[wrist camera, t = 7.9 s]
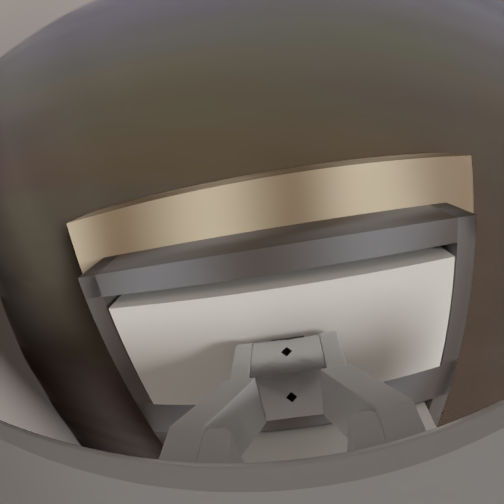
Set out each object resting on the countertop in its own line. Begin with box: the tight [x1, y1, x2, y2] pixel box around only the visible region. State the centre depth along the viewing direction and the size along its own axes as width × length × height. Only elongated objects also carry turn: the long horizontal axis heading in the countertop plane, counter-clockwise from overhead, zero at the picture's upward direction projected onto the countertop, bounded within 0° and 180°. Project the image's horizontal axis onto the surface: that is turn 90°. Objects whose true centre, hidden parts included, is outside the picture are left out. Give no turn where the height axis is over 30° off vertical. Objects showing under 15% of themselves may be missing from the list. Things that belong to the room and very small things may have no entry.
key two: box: [241, 402, 436, 463], centre depth 11 cm, size 11×4×2 cm, turn 101°
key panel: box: [67, 152, 476, 445], centre depth 14 cm, size 16×24×4 cm, turn 11°
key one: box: [109, 246, 455, 405], centre depth 10 cm, size 11×4×2 cm, turn 101°
